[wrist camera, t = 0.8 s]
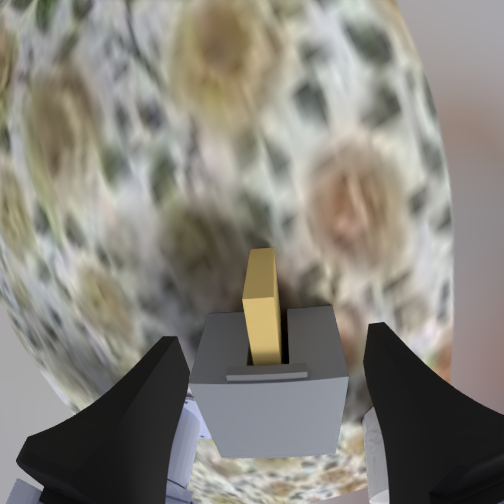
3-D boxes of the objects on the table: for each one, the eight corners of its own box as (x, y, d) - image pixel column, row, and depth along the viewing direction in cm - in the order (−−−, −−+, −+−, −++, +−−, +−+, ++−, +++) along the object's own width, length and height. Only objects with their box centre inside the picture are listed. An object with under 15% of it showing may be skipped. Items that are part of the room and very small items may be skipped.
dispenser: (230, 395, 27) (221, 457, 21) (206, 307, 22) (185, 376, 16) (327, 390, 26) (335, 453, 20) (332, 298, 21) (350, 369, 15)
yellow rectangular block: (265, 360, 24) (262, 415, 19) (250, 249, 20) (242, 299, 15) (284, 359, 24) (284, 414, 19) (273, 247, 19) (273, 297, 14)
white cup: (347, 410, 27) (360, 496, 18) (419, 380, 25) (448, 463, 16) (366, 438, 30) (378, 508, 21) (427, 413, 28) (449, 482, 19)
